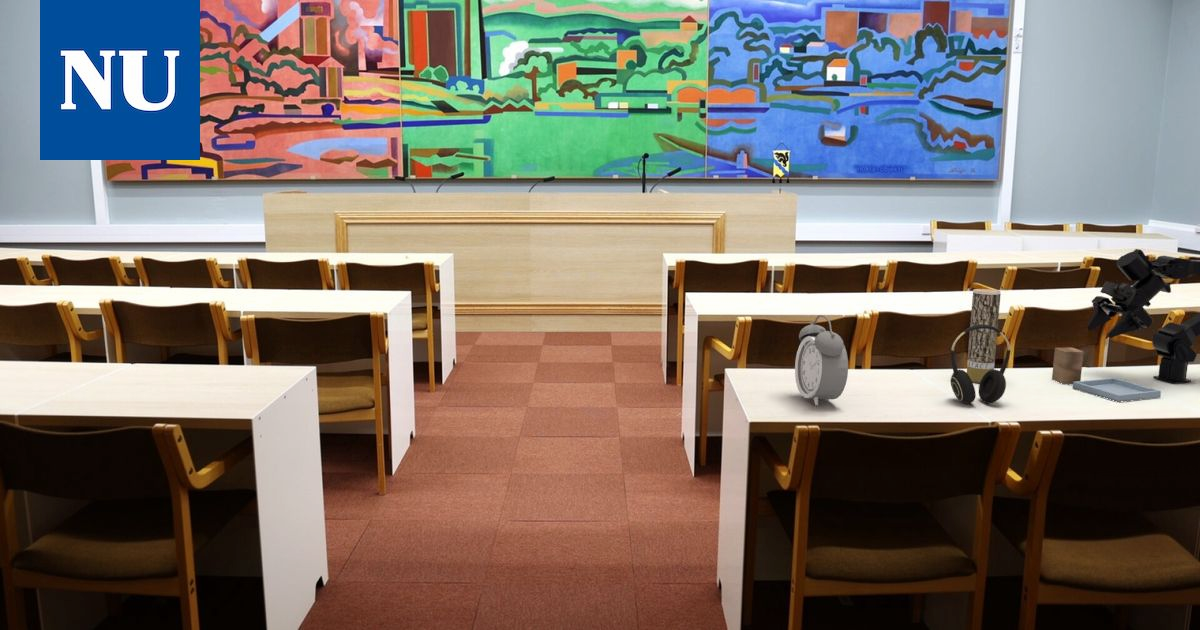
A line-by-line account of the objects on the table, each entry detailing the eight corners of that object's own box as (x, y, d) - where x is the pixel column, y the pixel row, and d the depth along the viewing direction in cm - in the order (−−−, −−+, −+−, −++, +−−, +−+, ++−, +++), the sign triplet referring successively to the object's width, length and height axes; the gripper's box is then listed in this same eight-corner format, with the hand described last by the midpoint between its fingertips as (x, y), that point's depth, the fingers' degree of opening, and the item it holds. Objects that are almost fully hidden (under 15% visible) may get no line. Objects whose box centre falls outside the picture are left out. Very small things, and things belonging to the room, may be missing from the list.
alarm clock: (790, 393, 226) (794, 310, 222) (822, 392, 228) (826, 309, 224) (815, 411, 210) (820, 322, 206) (849, 410, 212) (854, 321, 208)
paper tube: (972, 376, 244) (980, 288, 239) (997, 381, 239) (1005, 291, 234) (961, 380, 239) (968, 290, 235) (986, 385, 234) (994, 293, 230)
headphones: (940, 398, 222) (945, 321, 219) (997, 397, 223) (1004, 321, 219) (954, 407, 214) (960, 327, 210) (1013, 407, 214) (1021, 327, 210)
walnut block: (1069, 379, 241) (1072, 347, 239) (1080, 384, 236) (1083, 351, 234) (1051, 379, 241) (1054, 347, 239) (1062, 384, 236) (1065, 351, 234)
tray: (1112, 384, 236) (1113, 377, 236) (1160, 397, 223) (1160, 390, 223) (1072, 388, 232) (1073, 381, 231) (1118, 402, 219) (1119, 395, 218)
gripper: (1101, 267, 243) (1059, 306, 244) (1147, 276, 224) (1101, 319, 226) (1125, 295, 245) (1083, 333, 246) (1172, 306, 226) (1126, 348, 228)
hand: (1097, 333), depth 236 cm, fingers open, 9 cm apart
